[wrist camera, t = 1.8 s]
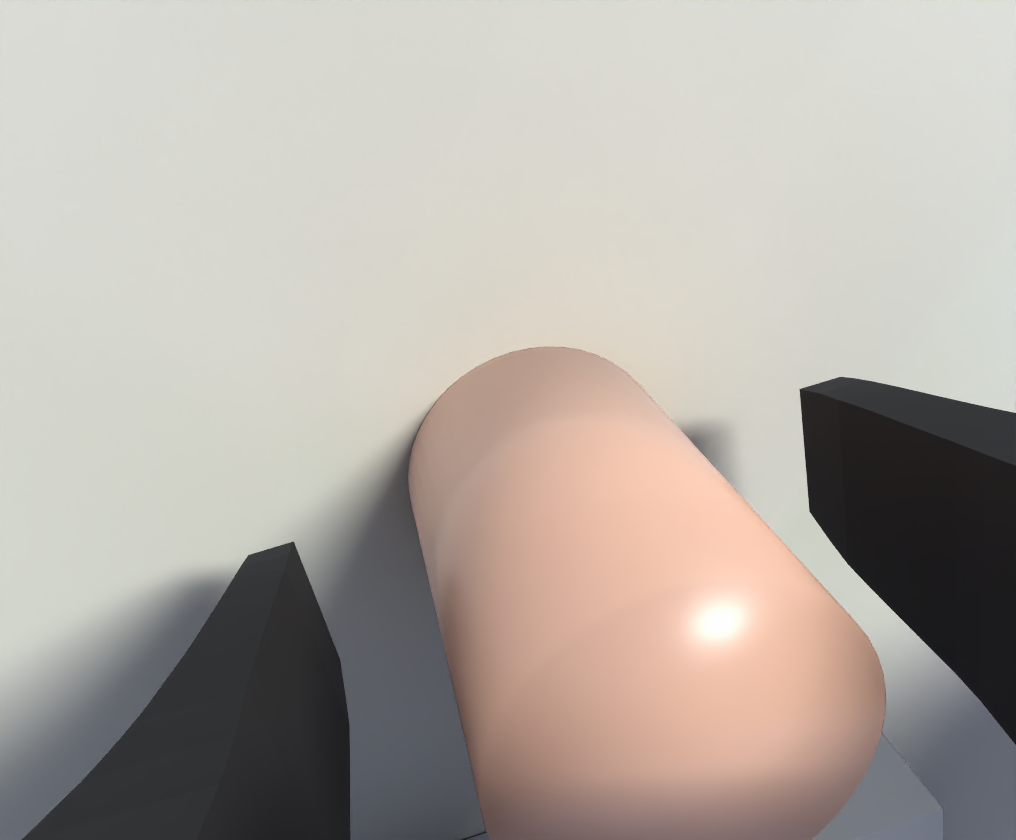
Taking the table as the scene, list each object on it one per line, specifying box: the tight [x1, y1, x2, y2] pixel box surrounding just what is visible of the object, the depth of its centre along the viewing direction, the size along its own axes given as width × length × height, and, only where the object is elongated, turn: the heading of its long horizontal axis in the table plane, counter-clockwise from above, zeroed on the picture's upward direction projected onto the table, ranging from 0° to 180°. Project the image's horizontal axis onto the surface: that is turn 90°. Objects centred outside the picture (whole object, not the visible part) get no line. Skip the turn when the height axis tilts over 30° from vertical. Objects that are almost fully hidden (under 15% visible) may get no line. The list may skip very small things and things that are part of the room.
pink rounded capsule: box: [408, 347, 886, 840], centre depth 11 cm, size 4×4×6 cm
